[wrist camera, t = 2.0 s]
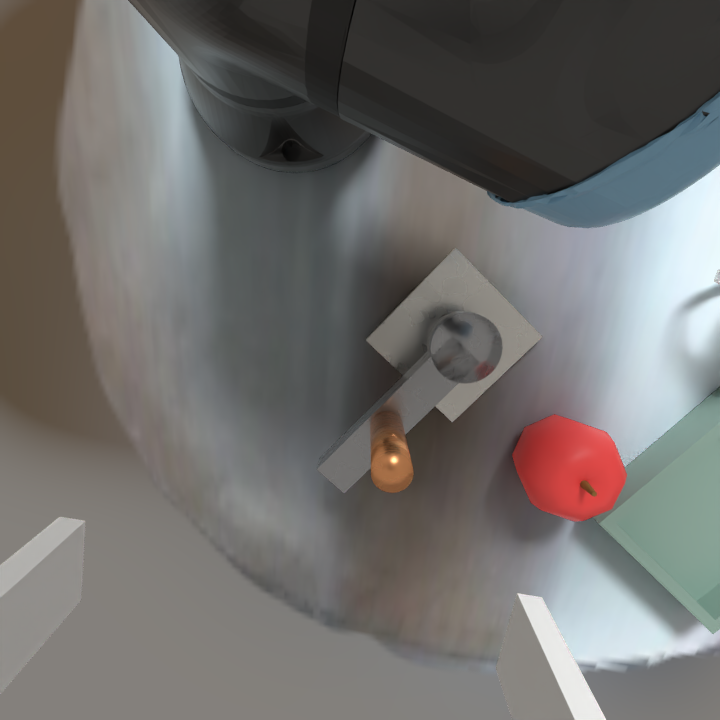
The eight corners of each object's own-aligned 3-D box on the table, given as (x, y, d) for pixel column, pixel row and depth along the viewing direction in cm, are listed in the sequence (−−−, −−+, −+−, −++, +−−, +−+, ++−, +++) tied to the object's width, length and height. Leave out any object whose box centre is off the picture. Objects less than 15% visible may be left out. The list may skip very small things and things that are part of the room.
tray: (581, 504, 40) (598, 523, 37) (720, 386, 37) (750, 396, 34) (688, 608, 42) (712, 634, 39) (826, 501, 39) (863, 520, 36)
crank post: (365, 338, 37) (365, 345, 34) (453, 248, 35) (462, 246, 32) (450, 419, 38) (457, 432, 35) (538, 335, 37) (555, 341, 34)
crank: (461, 296, 33) (499, 307, 23) (508, 343, 33) (563, 372, 24) (309, 449, 35) (288, 514, 26) (355, 490, 36) (351, 568, 27)
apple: (550, 385, 38) (598, 415, 30) (614, 445, 39) (677, 490, 31) (482, 451, 39) (511, 497, 31) (546, 508, 40) (590, 567, 32)
